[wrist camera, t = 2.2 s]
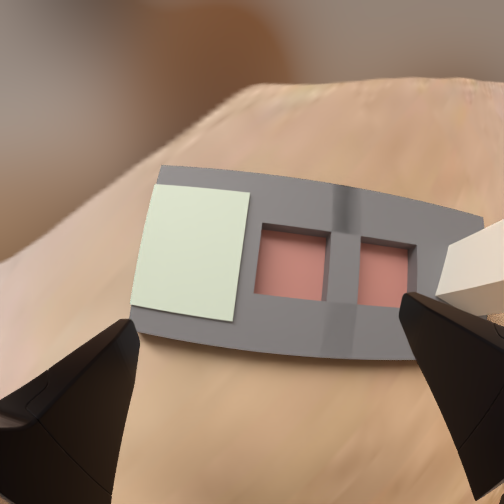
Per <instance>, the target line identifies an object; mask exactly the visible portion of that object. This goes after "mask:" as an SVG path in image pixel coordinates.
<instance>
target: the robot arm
mask: <svg viewBox="0 0 504 504" xmlns="http://www.w3.org/2000/svg"><path fill="white" fill-rule="evenodd" d="M399 320H400V323H401V325H402V328H403V330H404V333H405V335H406V338H407V340H408V343H409V345H410V348H411V350H412V353H413V355H414V357H415V359H416V361H417V363H418V365H419V367H420V369H421V371H422V373H423V375H424V377H425V379H426V381H427V383H428V385H429V387H430V389H431V391H432V393H433V396H434V398H435V400H436V402H437V404H438V406H439V409H440V411H441V413H442V415H443V418H444V420H445V422H446V425H447V427H448V429H449V432H450V434H451V436H452V439H453V441H454V444H455V446H456V449H457V451H458V454H459V457H460V459H461V462H462V465H463V467H464V470H465V473H466V476H467V479H468V481H469V484H470V487H471V490H472V493H473V496H474V499H475V501H477V500H479V499H480V498H482V497H483V496H485V495H486V494H488V493H489V492H491V491H492V490H494V489H495V488H497V487H498V486H500V485H501V484H502V483H504V327H503V326H500V325H498V324H496V323H492V322H490V321H488V320H485V319H483V318H480V317H478V316H475V315H473V314H470V313H468V312H465V311H463V310H460V309H458V308H455V307H453V306H450V305H448V304H445V303H443V302H440V301H437V300H435V299H432V298H430V297H427V296H424V295H422V294H419V293H417V292H408V293H404V294H403V296H402V300H401V305H400V310H399ZM139 348H140V340H139V336H138V333H137V330H136V327H135V324H134V322H133V320H132V319H120V320H118V321H117V322H115V323H114V324H112V325H111V326H109V327H108V328H106V329H105V330H104V331H102V332H101V333H99V334H98V335H96V336H95V337H93V338H92V339H90V340H89V341H88V342H86V343H85V344H83V345H82V346H80V347H79V348H78V349H76V350H75V351H73V352H72V353H70V354H69V355H67V356H66V357H65V358H63V359H62V360H60V361H59V362H58V363H56V364H55V365H53V366H52V367H50V368H49V370H46V371H45V372H43V373H42V374H40V375H39V376H38V377H36V378H35V379H33V380H32V381H30V382H29V383H27V384H26V385H24V386H22V387H21V388H19V389H18V390H16V391H14V392H13V393H11V394H9V395H8V396H6V397H4V398H3V399H1V400H0V504H111V499H112V496H111V495H112V491H113V485H114V479H115V473H116V467H117V462H118V457H119V451H120V446H121V441H122V436H123V432H124V427H125V422H126V418H127V413H128V409H129V405H130V401H131V396H132V392H133V388H134V384H135V377H136V369H137V362H138V355H139ZM499 504H504V494H503V495H502V496H501V500H500V503H499Z"/></svg>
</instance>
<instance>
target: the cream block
mask: <svg viewBox="0 0 504 504" xmlns="http://www.w3.org/2000/svg"><path fill="white" fill-rule="evenodd" d="M435 296H437V297H439V298H440V299H442V300H444V301H445V302H447V303H449V304H450V305H452V306H454V307H456V308H458V309H460V310H463V311H465V312H468V313H470V314H473V315H475V316H483V315H492V314H500V313H504V219H502V220H500V221H498V222H496V223H494V224H492V225H490V226H488V227H486V228H484V229H482V230H480V231H478V232H476V233H474V234H472V235H470V236H468V237H466V238H464V239H462V240H459V241H457V242H455V243H453V244H451V245H449V247H448V251H447V255H446V259H445V263H444V267H443V270H442V274H441V278H440V281H439V285H438V288H437V291H436V294H435Z"/></svg>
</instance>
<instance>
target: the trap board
mask: <svg viewBox="0 0 504 504" xmlns="http://www.w3.org/2000/svg"><path fill="white" fill-rule="evenodd" d="M482 229H484V221H483V217H480V216H477V215H473V214H470V213H466V212H462V211H458V210H455V209H451V208H447V207H443V206H439V205H435V204H431V203H427V202H422V201H418V200H414V199H409V198H405V197H400V196H395V195H391V194H386V193H381V192H376V191H371V190H365V189H360V188H355V187H349V186H343V185H337V184H331V183H325V182H319V181H313V180H306V179H299V178H292V177H284V176H277V175H269V174H260V173H252V172H242V171H233V170H222V169H211V168H198V167H184V166H168V165H161V169H160V172H159V176H158V179H157V183H156V184H155V185H154V189H153V193H152V197H151V201H150V205H149V209H148V213H147V218H146V222H145V226H144V231H143V235H142V240H141V245H140V250H139V255H138V260H137V265H136V271H135V276H134V282H133V288H132V294H131V300H130V304H131V310H130V317H129V319H132V320H133V322H134V324H135V327H136V330H137V332H141V333H146V334H151V335H155V336H160V337H166V338H171V339H176V340H182V341H187V342H193V343H199V344H205V345H211V346H218V347H225V348H232V349H239V350H247V351H255V352H264V353H273V354H283V355H294V356H307V357H321V358H338V359H364V360H416V359H415V357H414V355H413V353H412V350H411V348H410V345H409V343H408V340H407V338H406V335H405V333H404V330H403V328H402V325H401V323H400V320H399V310H400V305H401V300H402V296H403V294H404V293H408V292H417V293H419V294H422V295H424V296H427V297H430V298H432V299H435V300H437V301H440V302H443V303H445V304H448V305H450V304H449V303H447V302H445V301H444V300H442V299H440V298H439V297H437V296H435V294H436V291H437V288H438V285H439V281H440V278H441V274H442V270H443V267H444V263H445V259H446V255H447V251H448V247H449V245H451V244H453V243H455V242H457V241H459V240H462V239H464V238H466V237H468V236H470V235H472V234H474V233H476V232H478V231H480V230H482ZM450 306H452V305H450ZM453 307H454V306H453ZM455 308H456V307H455ZM478 317H480V318H483V319H485V320H487V315H483V316H478Z"/></svg>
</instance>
